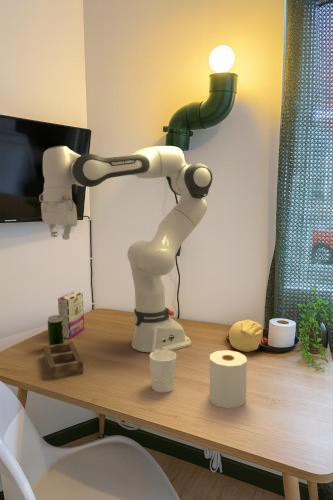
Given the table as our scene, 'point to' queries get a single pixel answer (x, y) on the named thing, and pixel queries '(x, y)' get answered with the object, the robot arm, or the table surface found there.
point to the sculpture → (246, 335)
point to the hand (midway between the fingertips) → (59, 238)
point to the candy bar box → (71, 313)
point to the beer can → (55, 330)
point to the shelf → (63, 360)
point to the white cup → (163, 370)
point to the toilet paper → (228, 378)
